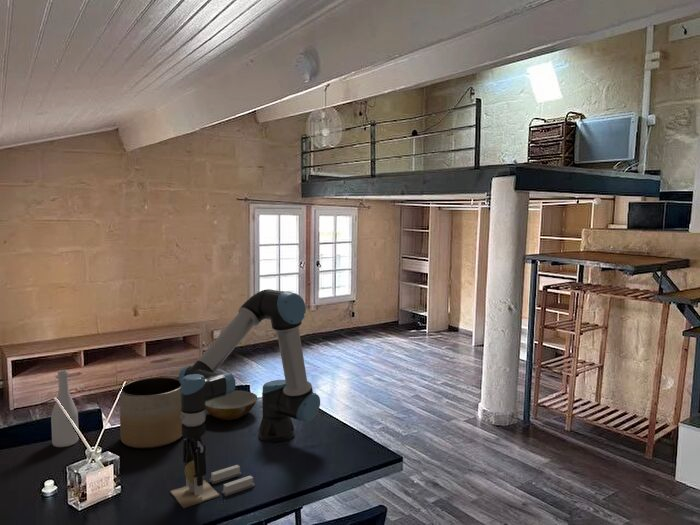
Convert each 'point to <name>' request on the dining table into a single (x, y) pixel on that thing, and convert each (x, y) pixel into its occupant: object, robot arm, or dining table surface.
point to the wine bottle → (59, 423)
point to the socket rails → (234, 485)
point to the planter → (150, 412)
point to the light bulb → (190, 474)
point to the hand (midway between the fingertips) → (194, 489)
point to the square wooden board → (193, 495)
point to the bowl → (231, 405)
